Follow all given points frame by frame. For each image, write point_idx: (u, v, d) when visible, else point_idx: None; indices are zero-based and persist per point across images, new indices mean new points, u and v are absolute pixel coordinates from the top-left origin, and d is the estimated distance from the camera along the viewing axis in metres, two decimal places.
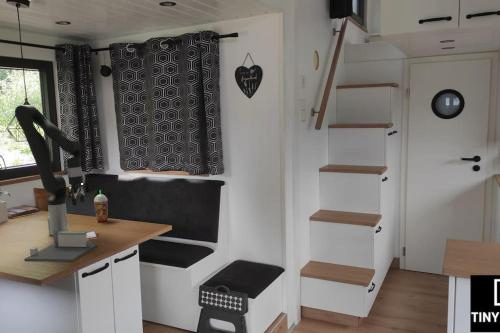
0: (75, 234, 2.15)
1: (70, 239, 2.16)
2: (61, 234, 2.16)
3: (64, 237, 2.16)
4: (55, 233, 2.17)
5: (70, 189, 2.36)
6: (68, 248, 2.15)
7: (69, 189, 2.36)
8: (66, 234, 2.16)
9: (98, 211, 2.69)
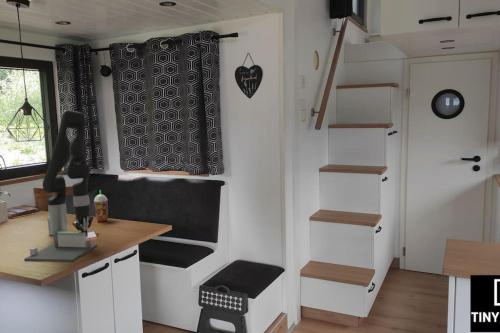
0: (74, 234, 2.14)
1: (70, 239, 2.15)
2: (61, 234, 2.16)
3: (64, 237, 2.16)
4: (55, 233, 2.17)
5: (75, 225, 2.12)
6: (68, 248, 2.15)
7: (74, 225, 2.12)
8: (66, 234, 2.15)
9: (98, 211, 2.69)
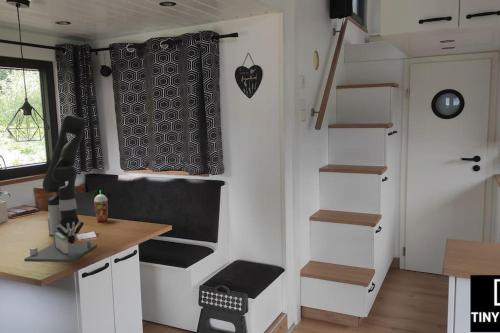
0: (60, 238, 2.08)
1: (59, 242, 2.11)
2: (55, 235, 2.14)
3: (57, 239, 2.13)
4: None
5: (57, 229, 2.05)
6: (68, 248, 2.15)
7: (57, 229, 2.05)
8: (57, 236, 2.12)
9: (98, 211, 2.69)
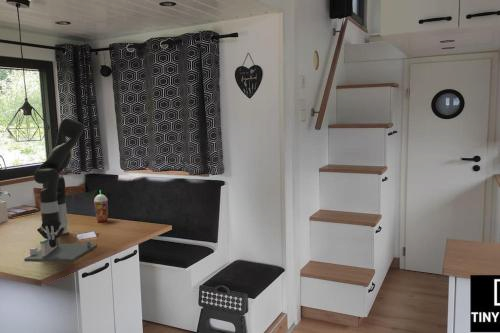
0: None
1: None
2: None
3: None
4: None
5: None
6: (68, 248, 2.15)
7: None
8: None
9: (98, 211, 2.69)
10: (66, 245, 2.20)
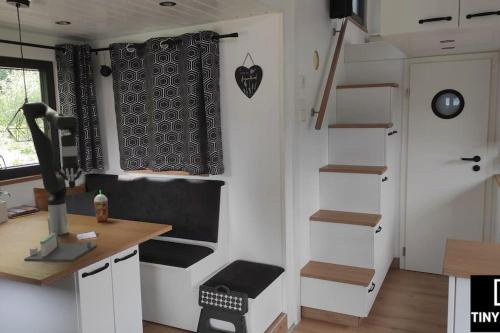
0: None
1: None
2: None
3: None
4: None
5: None
6: (68, 248, 2.15)
7: None
8: None
9: (98, 211, 2.69)
10: (66, 245, 2.20)
